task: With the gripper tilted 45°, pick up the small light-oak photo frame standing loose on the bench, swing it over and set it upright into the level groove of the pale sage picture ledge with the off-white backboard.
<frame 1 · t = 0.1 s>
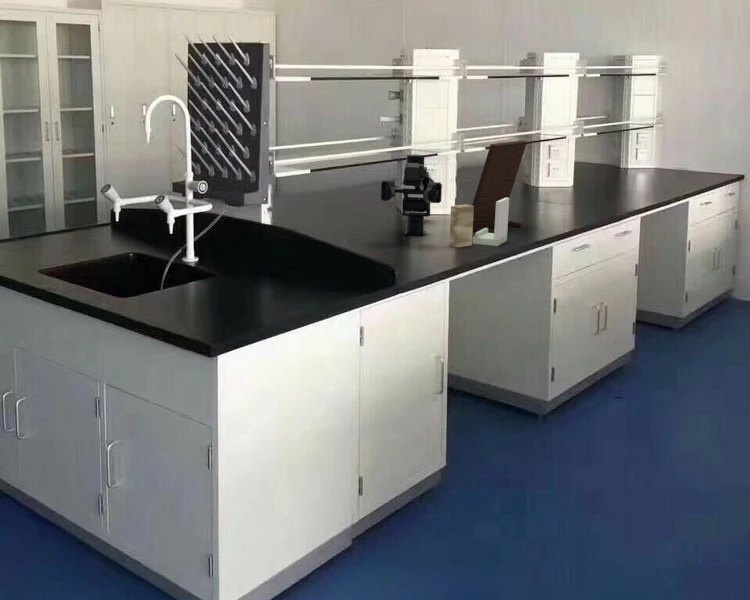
hand: (408, 195, 273), 17 cm above the worktop, tool horizontal, fingers open, 9 cm apart
picture ledge: (488, 241, 291), on the worktop
oak photo frame: (460, 245, 285), on the worktop
picture frame: (494, 229, 313), on the worktop
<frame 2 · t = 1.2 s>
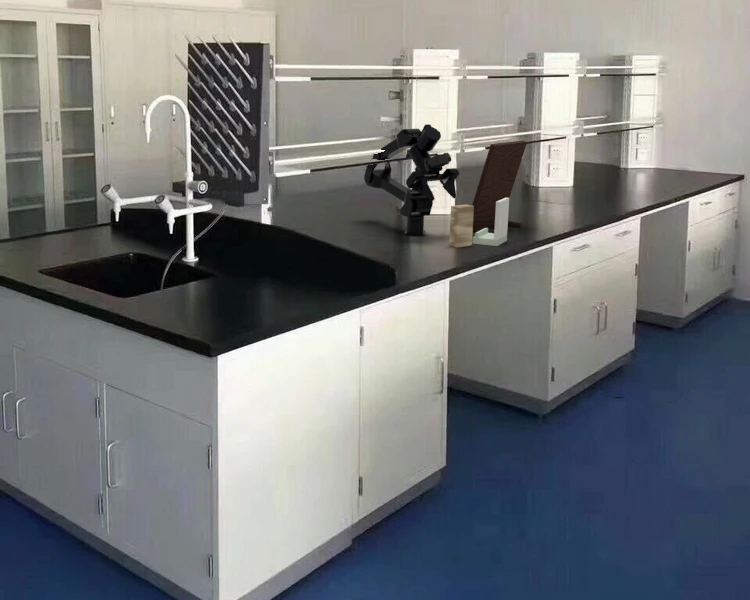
hand: (444, 198, 287), 14 cm above the worktop, tool tilted 45°, fingers open, 9 cm apart
nothing on the worktop moved.
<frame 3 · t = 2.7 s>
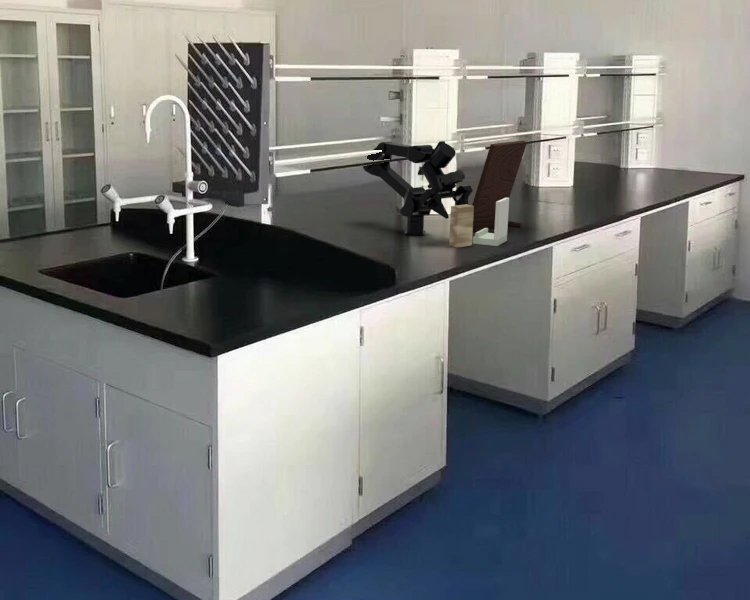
hand: (458, 216, 284), 9 cm above the worktop, tool tilted 45°, fingers open, 9 cm apart
nothing on the worktop moved.
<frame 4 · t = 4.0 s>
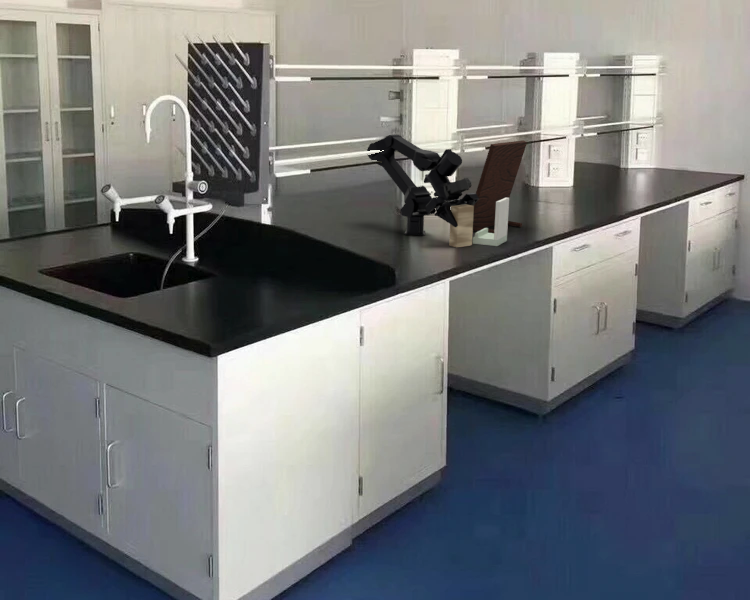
hand: (464, 225, 282), 7 cm above the worktop, tool tilted 45°, fingers closed on oak photo frame, 6 cm apart
oak photo frame: (460, 245, 285), on the worktop, touching gripper
everything else where it was.
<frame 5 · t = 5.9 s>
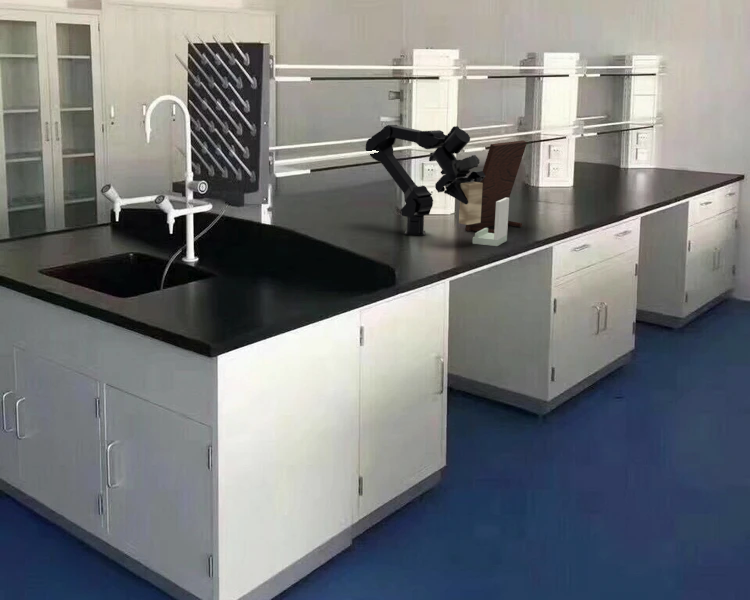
hand: (474, 202, 281), 14 cm above the worktop, tool tilted 45°, fingers closed on oak photo frame, 6 cm apart
oak photo frame: (469, 222, 284), point 7 cm above the worktop, touching gripper
everything else where it was.
when the fingers open (10 cm above the worktop, at t = 7.8 s): oak photo frame drops 1 cm, resting on picture ledge.
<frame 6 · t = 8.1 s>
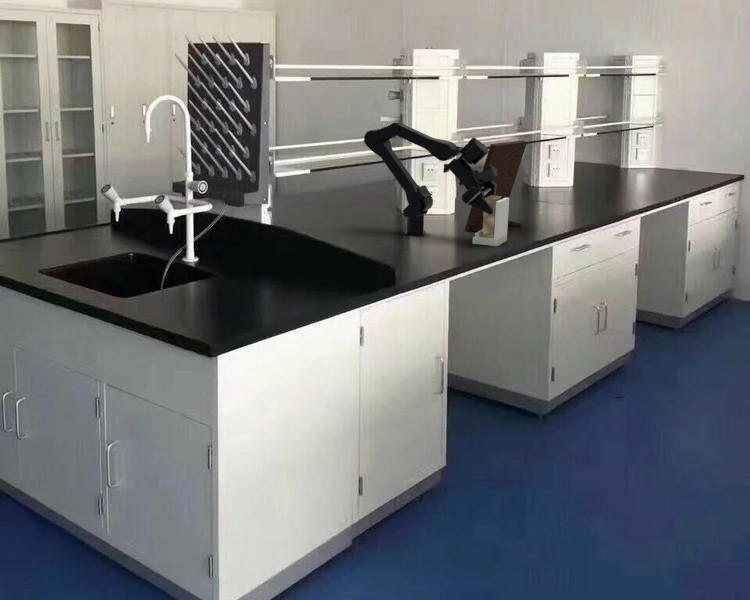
hand: (496, 211, 287), 10 cm above the worktop, tool tilted 45°, fingers open, 9 cm apart
oak photo frame: (490, 236, 290), point 2 cm above the worktop, touching picture ledge
everything else where it was.
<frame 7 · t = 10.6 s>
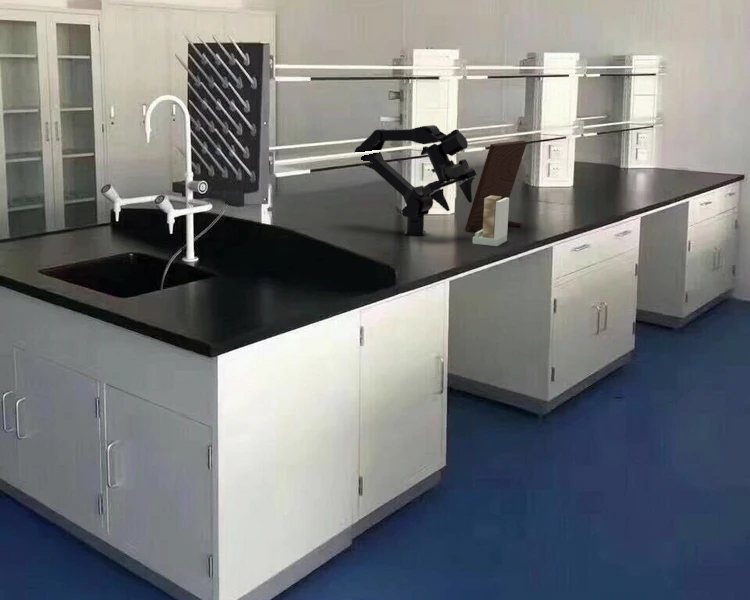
hand: (459, 206, 290), 11 cm above the worktop, tool tilted 30°, fingers open, 9 cm apart
nothing on the worktop moved.
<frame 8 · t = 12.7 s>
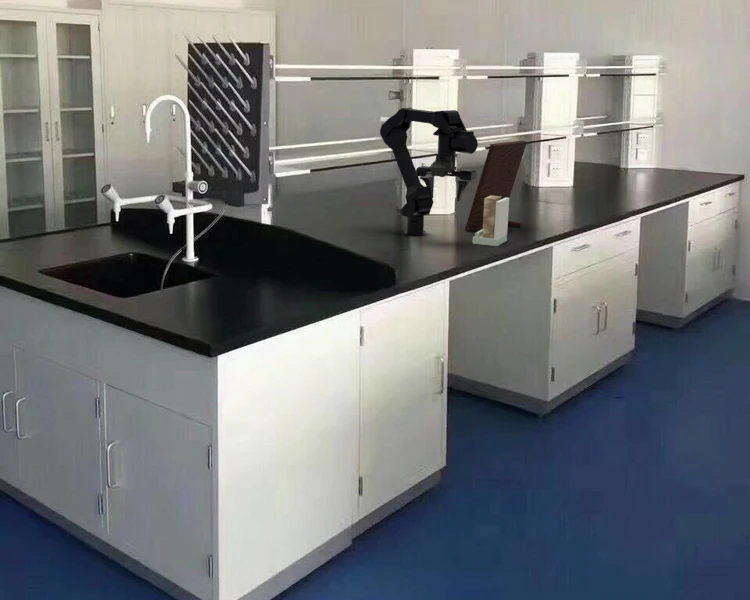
hand: (444, 200, 289), 13 cm above the worktop, tool pointing down, fingers open, 9 cm apart
nothing on the worktop moved.
at the end: oak photo frame 0.0 cm off-centre on the picture ledge, point 2.0 cm above the picture ledge's base; oak photo frame tilted 0°; the gripper is holding nothing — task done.
